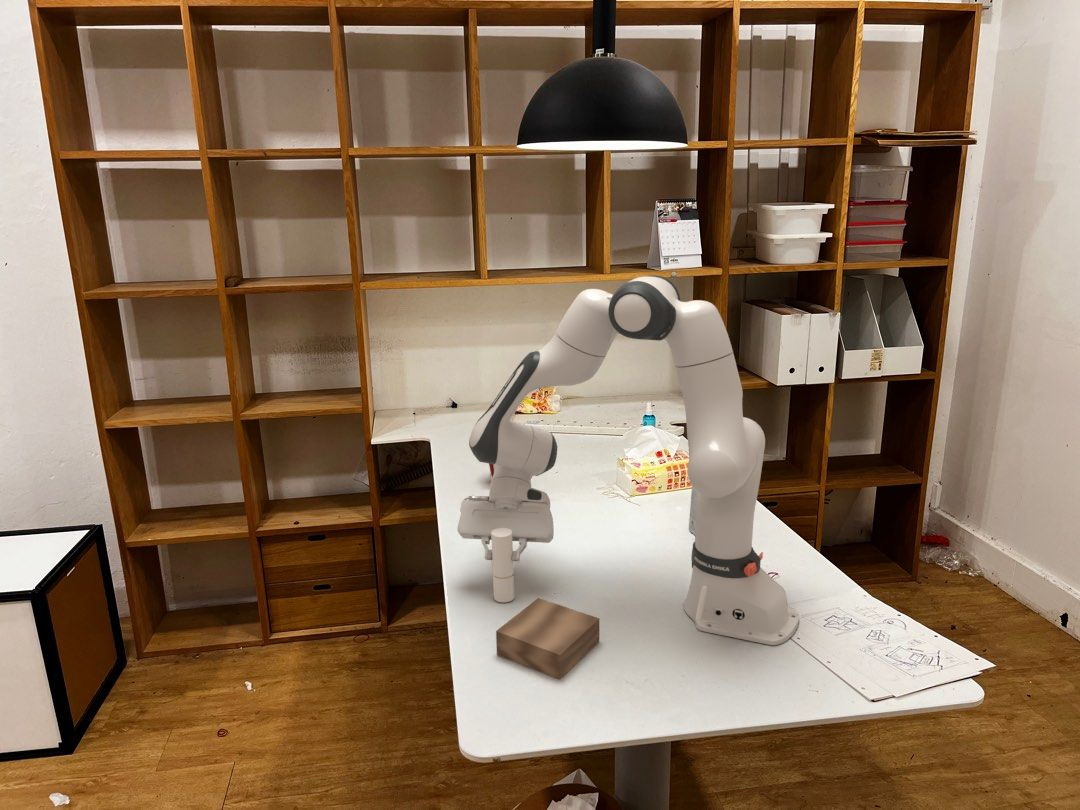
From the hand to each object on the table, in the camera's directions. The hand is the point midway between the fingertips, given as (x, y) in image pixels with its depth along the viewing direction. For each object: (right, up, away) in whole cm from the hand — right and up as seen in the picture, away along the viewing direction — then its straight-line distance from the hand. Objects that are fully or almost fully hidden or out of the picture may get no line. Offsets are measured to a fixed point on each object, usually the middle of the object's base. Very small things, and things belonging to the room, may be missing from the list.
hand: (502, 560), depth 166 cm
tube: (0, -9, +3) cm, 9 cm away
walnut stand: (+9, -14, -14) cm, 22 cm away
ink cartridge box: (+49, 0, +30) cm, 57 cm away
